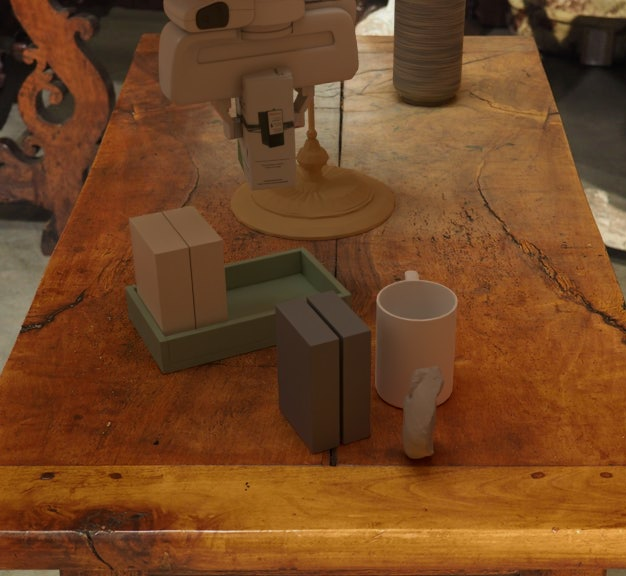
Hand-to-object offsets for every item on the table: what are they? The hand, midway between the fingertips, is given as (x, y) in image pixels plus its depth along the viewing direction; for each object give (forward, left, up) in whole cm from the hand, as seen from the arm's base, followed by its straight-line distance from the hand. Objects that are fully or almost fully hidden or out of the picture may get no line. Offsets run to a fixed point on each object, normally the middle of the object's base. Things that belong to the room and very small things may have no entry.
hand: (264, 131), depth 110 cm
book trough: (-4, +1, -22) cm, 22 cm away
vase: (+51, +55, -22) cm, 78 cm away
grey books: (-3, -20, -22) cm, 30 cm away
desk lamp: (+16, +25, -22) cm, 37 cm away
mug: (+8, -17, -22) cm, 29 cm away
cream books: (-10, +1, -21) cm, 23 cm away
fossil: (+2, -29, -22) cm, 37 cm away
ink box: (0, 0, -5) cm, 5 cm away
